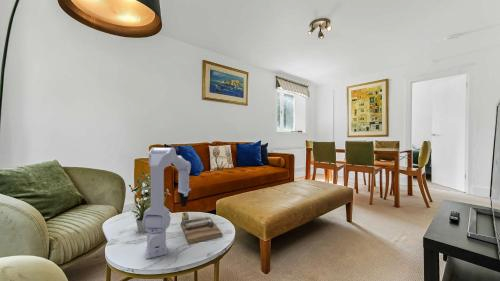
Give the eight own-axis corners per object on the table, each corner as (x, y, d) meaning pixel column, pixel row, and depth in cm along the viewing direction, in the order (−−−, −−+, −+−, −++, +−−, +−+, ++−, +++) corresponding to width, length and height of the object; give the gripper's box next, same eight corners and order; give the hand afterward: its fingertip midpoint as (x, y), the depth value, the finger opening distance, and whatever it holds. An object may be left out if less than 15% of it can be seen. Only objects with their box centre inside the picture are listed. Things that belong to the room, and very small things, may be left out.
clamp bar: (212, 223, 105) (212, 220, 105) (186, 228, 99) (186, 225, 99) (210, 221, 108) (210, 218, 108) (185, 226, 102) (185, 222, 102)
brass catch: (188, 218, 107) (188, 215, 107) (183, 219, 105) (183, 215, 105) (186, 215, 111) (186, 211, 111) (182, 216, 110) (182, 212, 110)
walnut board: (221, 236, 98) (221, 226, 98) (188, 244, 91) (188, 233, 90) (209, 220, 117) (209, 212, 117) (180, 225, 110) (180, 216, 110)
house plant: (149, 238, 95) (149, 204, 95) (121, 237, 96) (121, 203, 95) (163, 225, 110) (163, 195, 109) (138, 224, 110) (138, 195, 110)
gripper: (193, 183, 109) (193, 208, 109) (188, 178, 122) (188, 201, 122) (180, 185, 106) (179, 210, 106) (176, 179, 119) (176, 202, 119)
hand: (183, 205), depth 114 cm, fingers closed
